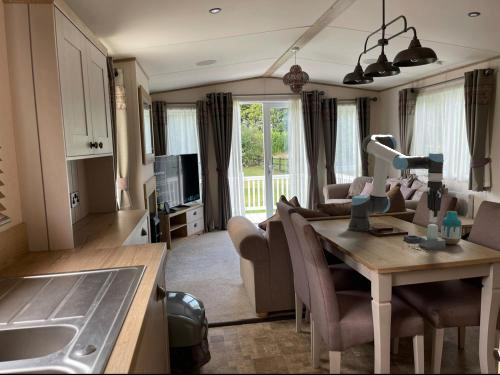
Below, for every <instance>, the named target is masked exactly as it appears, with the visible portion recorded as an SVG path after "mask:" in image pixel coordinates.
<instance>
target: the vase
mask: <svg viewBox="0 0 500 375" xmlns="http://www.w3.org/2000/svg"><path fill="white" fill-rule="evenodd" d="M462 228H463V226H462V220H461V219H460V218H459V217H458V211H455V210H454V211H453V210H448V211H446V216H445V217H444V218H442V220H441V225H440V238H442V239H444V240H446V243H445V245H446V244H447V245H457V244H459V243H460V242H461V238H462V230H463V229H462Z"/></svg>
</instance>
